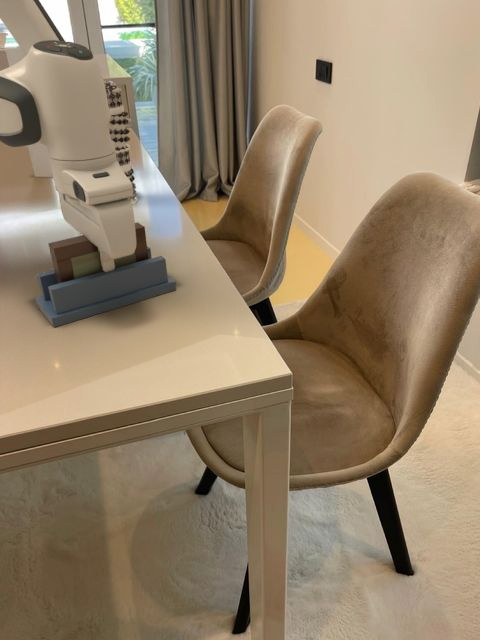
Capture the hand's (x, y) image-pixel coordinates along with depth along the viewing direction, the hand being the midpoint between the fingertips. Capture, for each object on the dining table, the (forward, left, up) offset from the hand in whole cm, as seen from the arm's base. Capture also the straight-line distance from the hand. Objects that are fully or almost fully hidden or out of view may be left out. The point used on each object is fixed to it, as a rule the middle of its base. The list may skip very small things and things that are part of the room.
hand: (103, 265), depth 85 cm
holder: (0, 0, -6) cm, 6 cm away
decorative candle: (+21, +44, -6) cm, 49 cm away
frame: (0, 0, -4) cm, 4 cm away
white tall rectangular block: (+18, +71, -6) cm, 73 cm away
